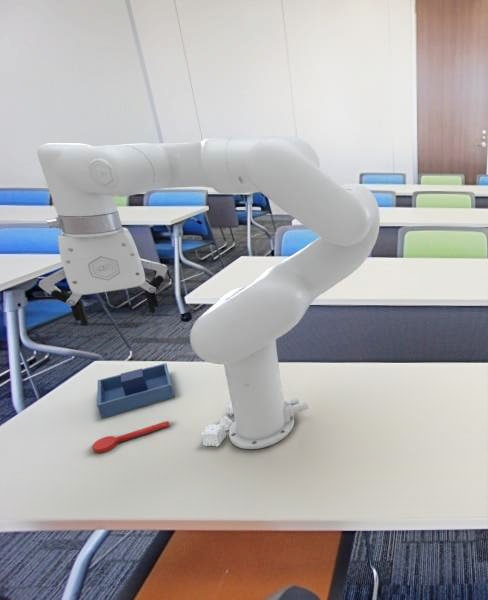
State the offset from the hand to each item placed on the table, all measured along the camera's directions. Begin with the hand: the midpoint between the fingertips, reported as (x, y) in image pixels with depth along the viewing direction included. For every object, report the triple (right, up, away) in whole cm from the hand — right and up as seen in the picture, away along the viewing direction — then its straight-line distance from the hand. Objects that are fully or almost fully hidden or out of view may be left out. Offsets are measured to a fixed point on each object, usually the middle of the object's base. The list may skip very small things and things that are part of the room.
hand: (120, 316), depth 72 cm
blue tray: (-13, -19, +20) cm, 31 cm away
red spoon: (-4, -25, +8) cm, 27 cm away
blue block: (-13, -19, +20) cm, 30 cm away
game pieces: (+12, -24, +12) cm, 30 cm away
